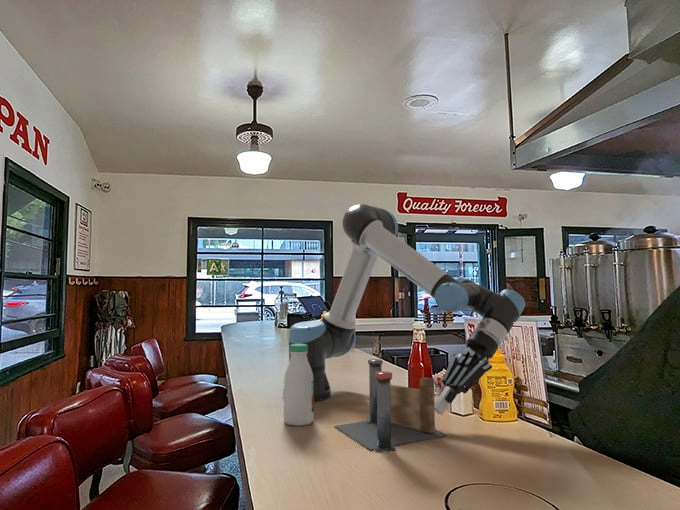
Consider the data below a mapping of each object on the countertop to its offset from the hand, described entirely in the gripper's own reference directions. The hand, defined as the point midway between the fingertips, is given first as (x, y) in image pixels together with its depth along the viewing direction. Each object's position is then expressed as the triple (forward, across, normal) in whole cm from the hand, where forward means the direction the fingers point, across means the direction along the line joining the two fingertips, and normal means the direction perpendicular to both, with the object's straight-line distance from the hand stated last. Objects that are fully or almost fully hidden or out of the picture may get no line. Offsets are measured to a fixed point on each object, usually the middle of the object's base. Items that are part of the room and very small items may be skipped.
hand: (437, 410), depth 111 cm
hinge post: (+11, -12, -4) cm, 16 cm away
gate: (+7, -3, -2) cm, 8 cm away
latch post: (+16, +5, -10) cm, 19 cm away
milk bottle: (+23, -21, -17) cm, 36 cm away
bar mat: (+11, -4, -5) cm, 13 cm away
